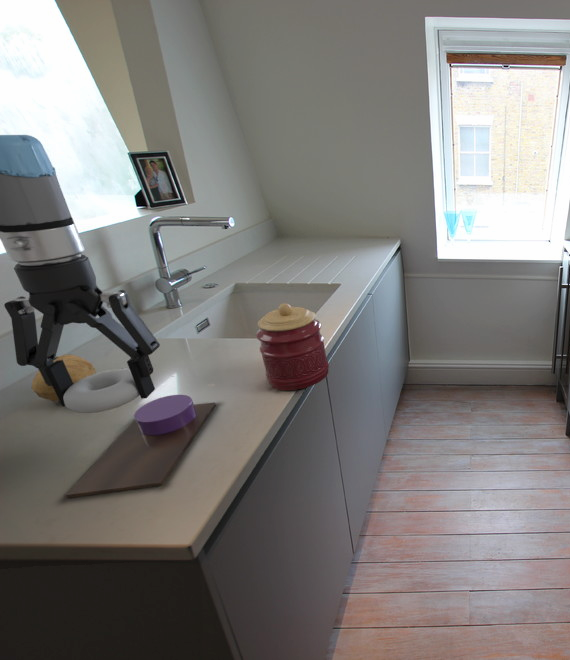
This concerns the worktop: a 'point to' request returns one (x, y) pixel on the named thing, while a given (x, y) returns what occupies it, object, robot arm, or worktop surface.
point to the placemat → (139, 458)
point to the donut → (101, 391)
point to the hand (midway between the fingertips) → (110, 397)
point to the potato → (75, 368)
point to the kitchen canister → (292, 348)
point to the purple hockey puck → (165, 414)
